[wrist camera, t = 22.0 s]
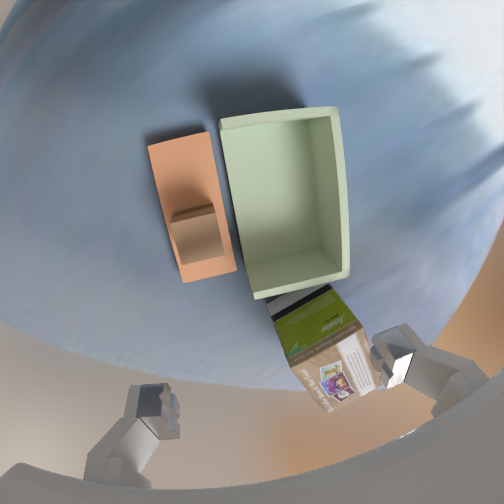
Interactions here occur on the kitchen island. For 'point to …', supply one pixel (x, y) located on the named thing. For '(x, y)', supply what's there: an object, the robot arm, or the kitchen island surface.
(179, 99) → the kitchen island surface
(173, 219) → the walnut block
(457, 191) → the kitchen island surface
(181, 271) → the board
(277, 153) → the box
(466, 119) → the kitchen island surface
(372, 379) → the tea box
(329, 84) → the kitchen island surface
